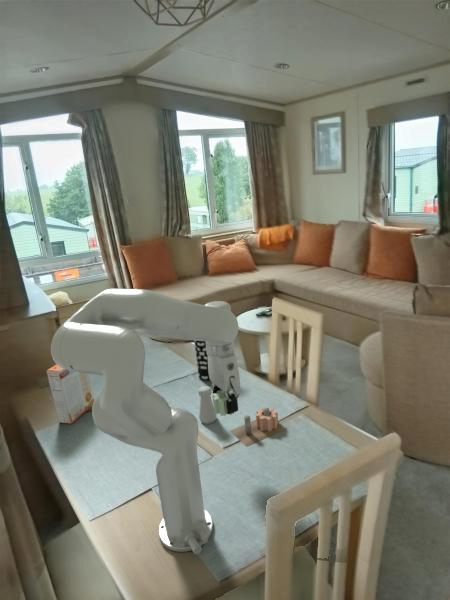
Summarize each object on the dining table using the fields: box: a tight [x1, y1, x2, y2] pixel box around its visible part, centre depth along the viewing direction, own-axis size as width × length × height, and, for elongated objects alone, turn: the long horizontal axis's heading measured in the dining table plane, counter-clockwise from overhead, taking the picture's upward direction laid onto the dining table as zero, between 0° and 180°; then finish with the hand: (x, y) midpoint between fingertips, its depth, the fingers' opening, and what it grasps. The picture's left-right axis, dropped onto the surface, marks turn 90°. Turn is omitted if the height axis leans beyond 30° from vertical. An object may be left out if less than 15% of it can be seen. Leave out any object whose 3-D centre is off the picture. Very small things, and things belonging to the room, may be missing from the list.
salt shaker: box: [197, 385, 217, 425], centre depth 137 cm, size 6×6×13 cm
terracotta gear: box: [255, 407, 279, 432], centre depth 132 cm, size 7×7×4 cm
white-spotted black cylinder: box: [193, 340, 211, 382], centre depth 169 cm, size 8×8×20 cm
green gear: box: [212, 390, 239, 417], centre depth 115 cm, size 7×7×4 cm
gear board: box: [229, 407, 287, 447], centre depth 130 cm, size 10×15×7 cm, turn 120°
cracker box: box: [46, 363, 95, 425], centre depth 150 cm, size 14×6×21 cm, turn 161°
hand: (225, 406), depth 116 cm, fingers closed on green gear, 6 cm apart
